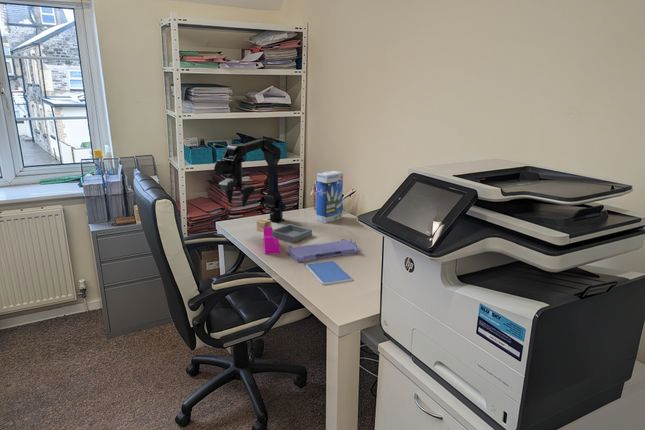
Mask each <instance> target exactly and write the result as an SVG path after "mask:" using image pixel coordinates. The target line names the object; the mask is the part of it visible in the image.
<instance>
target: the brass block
mask: <svg viewBox="0 0 645 430" xmlns="http://www.w3.org/2000/svg"><path fill="white" fill-rule="evenodd" d="M264 227H272V221H270V220H268V219H266V218H262V219H258V220H256V231H258V232H261V233H264Z"/></svg>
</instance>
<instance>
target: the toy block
mask: <svg viewBox="0 0 645 430" xmlns="http://www.w3.org/2000/svg"><path fill="white" fill-rule="evenodd" d="M272 230H273V227H272V226H271V227H264V232H263V246H264V255H278V254H279V255H280V253H281V250H280V249H281V248H280V247H281V246H280V240H279V239H278V238H274V236H272Z"/></svg>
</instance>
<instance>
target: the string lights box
mask: <svg viewBox="0 0 645 430" xmlns="http://www.w3.org/2000/svg"><path fill="white" fill-rule="evenodd" d="M343 184H344V171H343V172H342V171H337V170H331V171H330V170H329V171H324V172H319V173H317V174H316V202H315V203H316V206H315V207H316V209H315V210H316V211H315V212H316V213H315V221H317V222H321V223H325V224H327V223H331V222H334V221H338V220H341V219H342V215H343V213H342V212H343V211H342V208H343V187H344V185H343Z"/></svg>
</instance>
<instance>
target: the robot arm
mask: <svg viewBox="0 0 645 430" xmlns="http://www.w3.org/2000/svg"><path fill="white" fill-rule="evenodd" d="M256 150H260V151H261V152H262V153H263V155H264V160H265V162H266V163H267V178H268V179H267V180H268V182H267V185H268V191H267V194H264V203H265V205H266V208H267V210H270V211H269V218H268V219H267V220H270V221H271V223H272V222H273V223H275V224H276V223H277V224H278V223H281V222H283V221H285V218H284V217H283V215H284V214H283V212H284V211H286V207H287V205H286V204H285V203H284V202H283V199H282V195H281V193H280V191H279V170H278V167H279V166H278V163H279V162H280V160H281V155H282V153H281V152H282V151H281V148H280V147H278V146H277V145H275V144H274V143H272V142H270V141H269V140H268V139H266V138H258V139H255V140H252V141H249V142H246V143H242V144H240V143H239V144H238V143H237V144H235V143H234V144H229V145H227V147H226V150H225V151H224V154H223V156H222V158H221V159H217V160H216V163H215V165H214V167H213V168H214V172H215V174H216V175H217V176H224V175H227V176H226V178H225V179H224V180H221V181H219V183H218V185H217V186H218V189H220V191H222V192H224V194H225V196H226V199H227V201H228V204H232V203H233V202H232V201H233V195H234V189H235V190H239V195H240V196H241V205H242V207H243V208H244V207H246V205H247V202H248V200H249V199H250V196H251V195H252V194H253V193H255V187H254V185H249V184H246V185H245V182H243V177H245V174H244V173H243V167H242V166H243V163H246V160H245V159H244V158H243V157H245V156H246V155H247V154H248V153H252V152H254V151H256Z"/></svg>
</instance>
